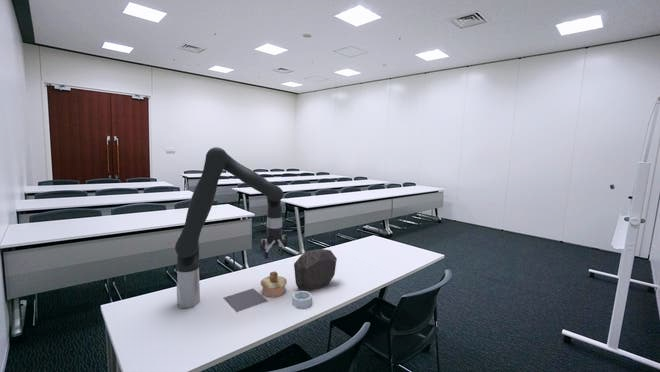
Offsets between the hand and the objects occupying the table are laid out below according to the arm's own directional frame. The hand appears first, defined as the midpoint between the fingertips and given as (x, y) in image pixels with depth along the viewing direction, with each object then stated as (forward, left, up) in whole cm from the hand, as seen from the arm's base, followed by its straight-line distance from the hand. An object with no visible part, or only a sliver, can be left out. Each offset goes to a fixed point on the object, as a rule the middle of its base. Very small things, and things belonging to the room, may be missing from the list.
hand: (273, 256), depth 156 cm
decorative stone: (+21, -8, -19) cm, 29 cm away
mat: (-15, +1, -19) cm, 24 cm away
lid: (0, 0, -14) cm, 14 cm away
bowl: (0, 0, -19) cm, 19 cm away
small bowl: (+5, -18, -19) cm, 26 cm away
